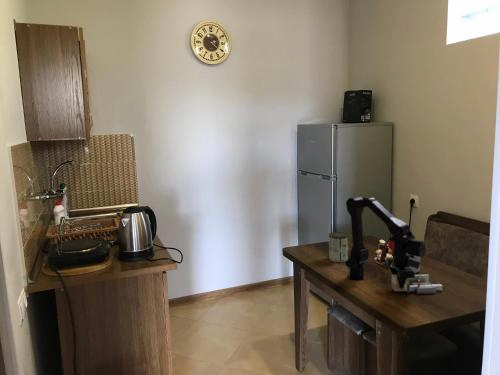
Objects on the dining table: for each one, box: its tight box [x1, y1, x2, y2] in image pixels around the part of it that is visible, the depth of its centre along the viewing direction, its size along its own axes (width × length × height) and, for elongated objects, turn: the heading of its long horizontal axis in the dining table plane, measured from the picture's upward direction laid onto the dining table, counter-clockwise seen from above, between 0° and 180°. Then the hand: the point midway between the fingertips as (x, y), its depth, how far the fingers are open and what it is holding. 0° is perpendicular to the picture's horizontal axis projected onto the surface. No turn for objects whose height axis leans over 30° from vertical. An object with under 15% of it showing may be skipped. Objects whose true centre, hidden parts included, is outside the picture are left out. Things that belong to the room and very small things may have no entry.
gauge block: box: [391, 274, 407, 292], centre depth 179 cm, size 5×5×6 cm
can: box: [405, 253, 421, 274], centre depth 203 cm, size 8×8×12 cm
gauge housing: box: [407, 274, 437, 295], centre depth 181 cm, size 13×9×5 cm
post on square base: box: [405, 280, 443, 294], centre depth 180 cm, size 16×5×5 cm, turn 91°
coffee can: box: [328, 231, 349, 263], centre depth 224 cm, size 10×10×14 cm
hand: (399, 286), depth 180 cm, fingers closed on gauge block, 5 cm apart
